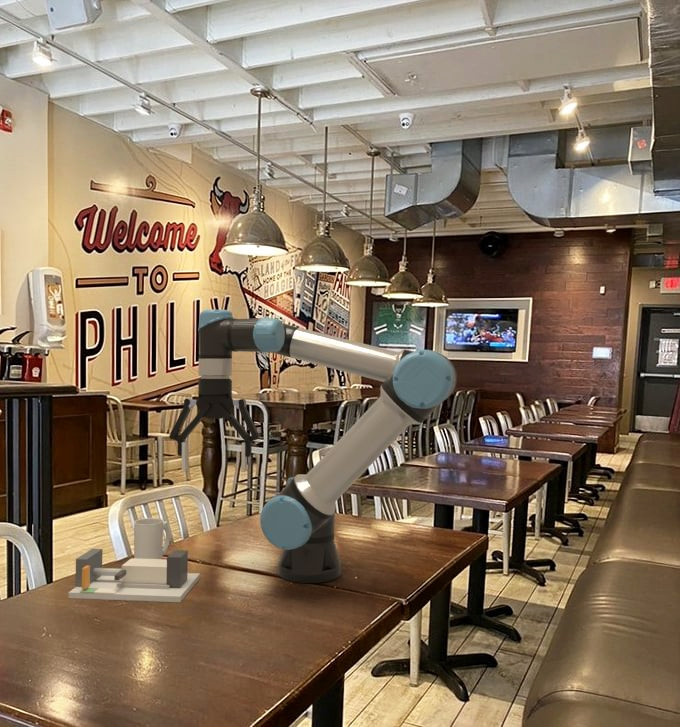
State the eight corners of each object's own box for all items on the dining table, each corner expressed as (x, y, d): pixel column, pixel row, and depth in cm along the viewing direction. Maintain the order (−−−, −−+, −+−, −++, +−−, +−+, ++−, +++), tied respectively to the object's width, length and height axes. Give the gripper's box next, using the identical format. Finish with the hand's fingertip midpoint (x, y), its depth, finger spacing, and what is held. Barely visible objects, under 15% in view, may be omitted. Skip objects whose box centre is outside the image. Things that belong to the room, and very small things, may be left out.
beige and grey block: (187, 578, 144) (187, 550, 144) (174, 593, 135) (174, 562, 135) (130, 576, 144) (131, 548, 144) (114, 591, 135) (114, 560, 135)
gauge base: (199, 578, 148) (200, 547, 148) (180, 602, 133) (180, 567, 133) (98, 575, 150) (98, 544, 150) (67, 598, 135) (68, 564, 135)
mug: (146, 577, 149) (147, 526, 149) (127, 572, 152) (128, 522, 152) (178, 566, 157) (179, 517, 157) (159, 561, 161) (160, 514, 161)
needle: (89, 586, 137) (90, 565, 137) (85, 589, 135) (85, 568, 135) (86, 586, 137) (86, 565, 137) (81, 589, 135) (82, 568, 135)
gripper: (271, 377, 149) (271, 468, 149) (166, 377, 150) (165, 467, 150) (267, 378, 141) (266, 474, 141) (155, 377, 142) (155, 472, 142)
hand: (214, 470), depth 145 cm, fingers open, 13 cm apart
